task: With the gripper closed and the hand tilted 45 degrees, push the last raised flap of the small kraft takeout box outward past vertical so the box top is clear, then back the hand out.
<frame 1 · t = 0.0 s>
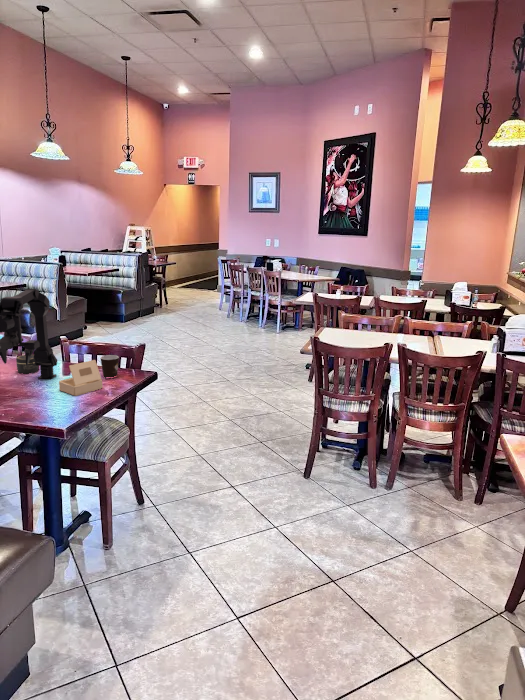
hand: (16, 363, 210), 15 cm above the table, tool pointing down, fingers open, 9 cm apart
coffee mug: (112, 376, 247), on the table
flap: (85, 372, 222), point 9 cm above the table, hinge at -25.0°
jar: (28, 372, 249), on the table
kraft box: (81, 389, 226), on the table
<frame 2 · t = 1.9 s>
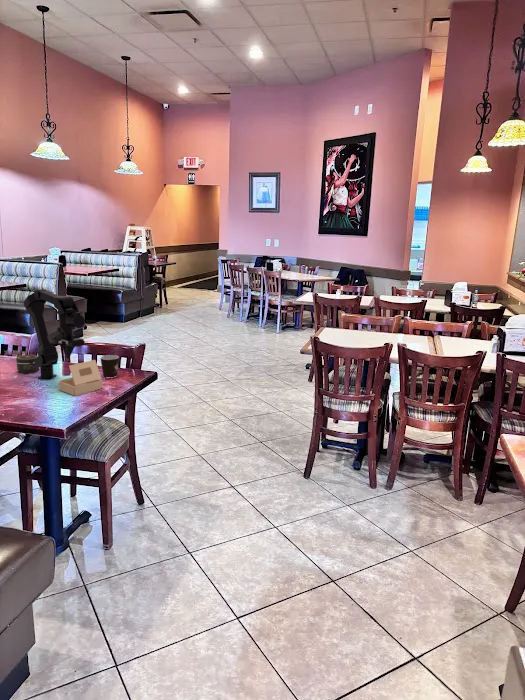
hand: (67, 358, 228), 13 cm above the table, tool pointing down, fingers closed
nothing on the table moved.
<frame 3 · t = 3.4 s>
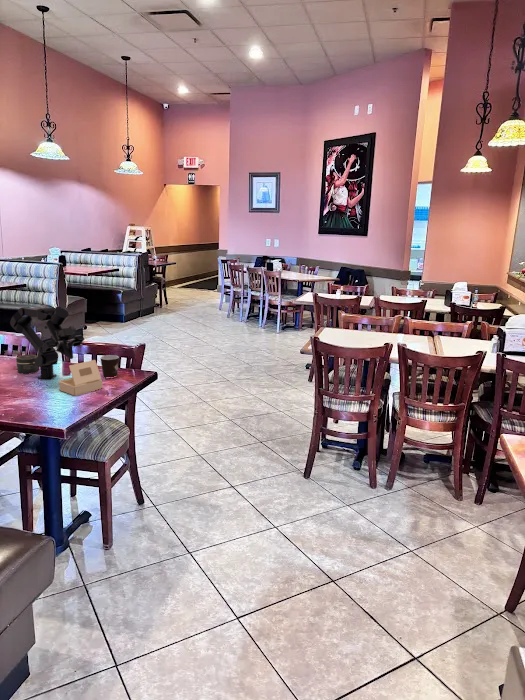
hand: (72, 358, 226), 13 cm above the table, tool tilted 45°, fingers closed
nothing on the table moved.
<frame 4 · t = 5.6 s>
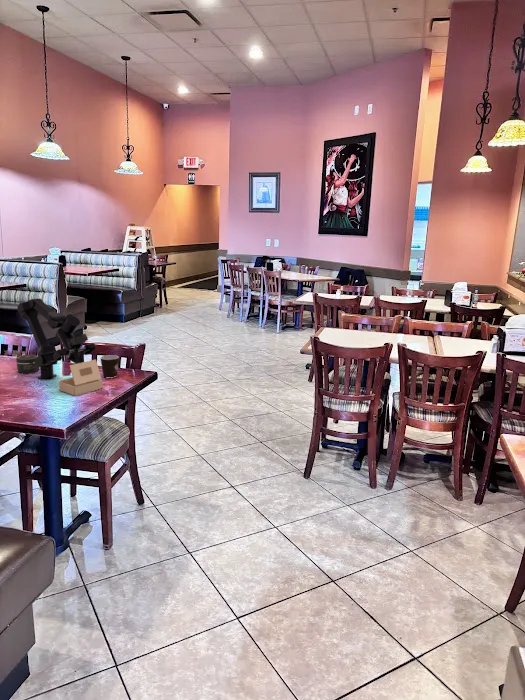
hand: (83, 367, 222), 11 cm above the table, tool tilted 45°, fingers closed, pressing on flap
flap: (85, 372, 222), point 9 cm above the table, hinge at -21.9°, touching gripper
everything else where it was.
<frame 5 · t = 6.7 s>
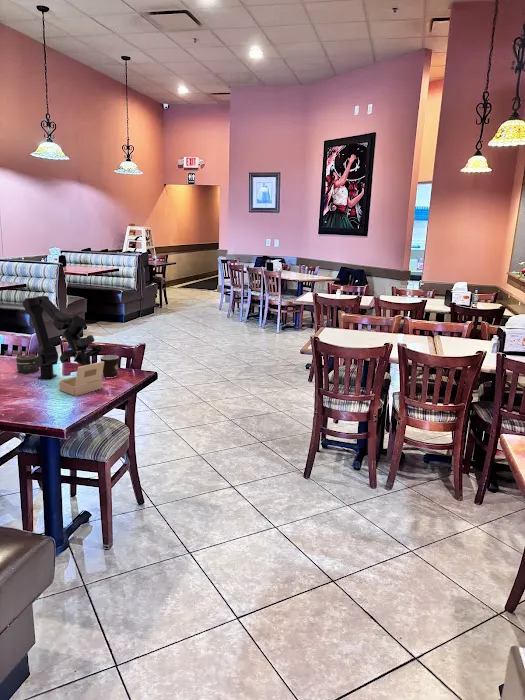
hand: (90, 368, 219), 11 cm above the table, tool tilted 45°, fingers closed, pressing on flap
flap: (90, 373, 220), point 9 cm above the table, hinge at 16.5°, touching gripper
everything else where it was.
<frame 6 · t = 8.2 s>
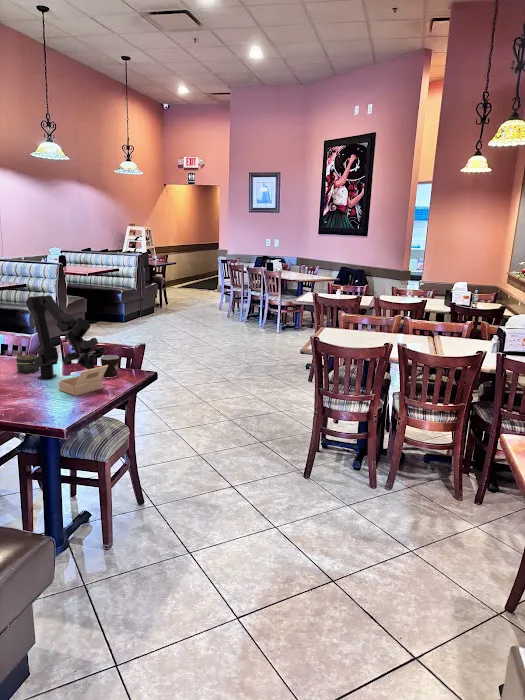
hand: (93, 371, 218), 10 cm above the table, tool tilted 45°, fingers closed, pressing on flap
flap: (92, 375, 219), point 8 cm above the table, hinge at 35.0°, touching gripper
everything else where it was.
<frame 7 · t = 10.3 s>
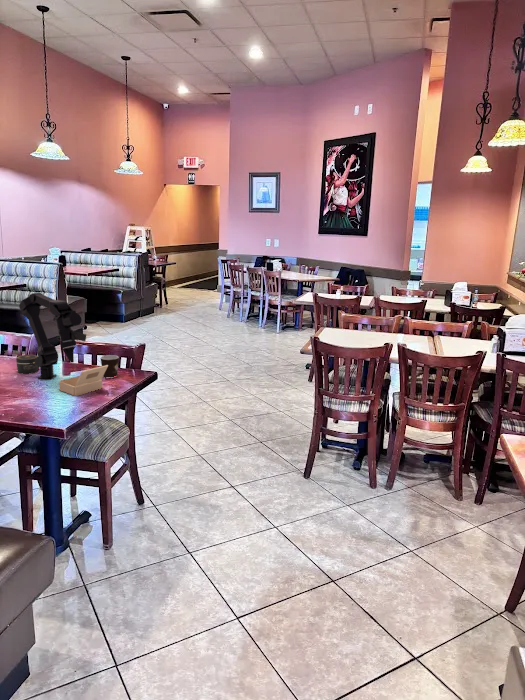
hand: (72, 362, 226), 12 cm above the table, tool tilted 15°, fingers closed
flap: (92, 375, 219), point 8 cm above the table, hinge at 35.0°
everything else where it was.
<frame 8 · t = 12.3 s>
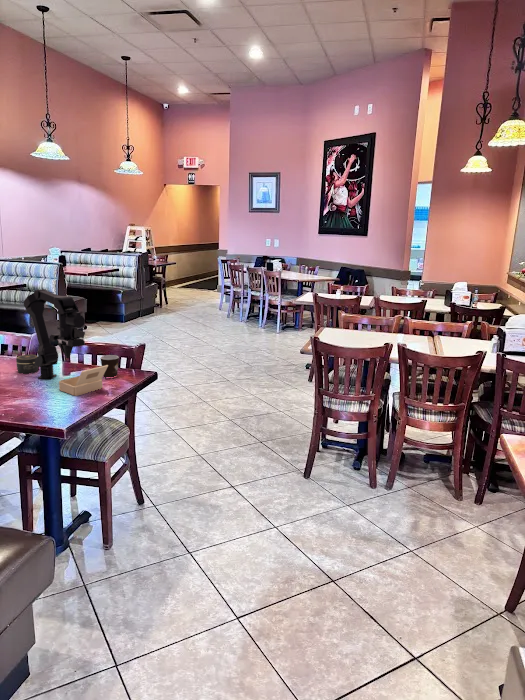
hand: (67, 358, 228), 13 cm above the table, tool pointing down, fingers closed
nothing on the table moved.
at the end: flap at +35° (first picture: -25°) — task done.
